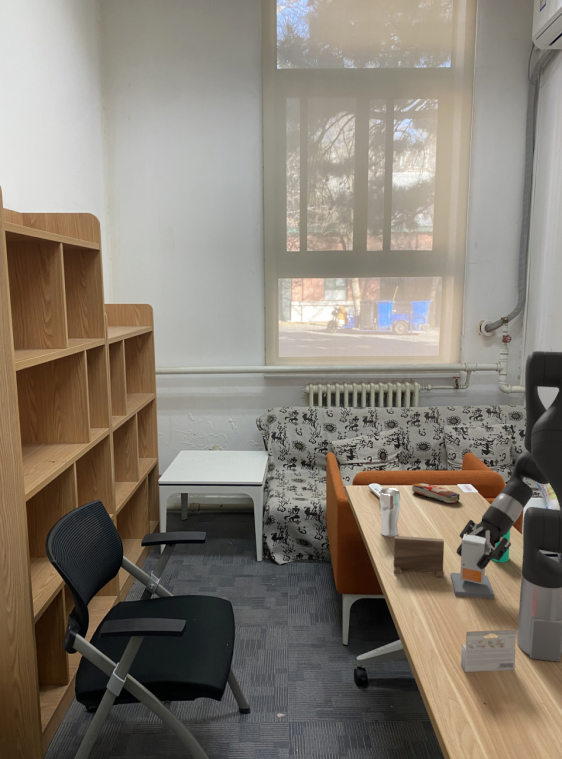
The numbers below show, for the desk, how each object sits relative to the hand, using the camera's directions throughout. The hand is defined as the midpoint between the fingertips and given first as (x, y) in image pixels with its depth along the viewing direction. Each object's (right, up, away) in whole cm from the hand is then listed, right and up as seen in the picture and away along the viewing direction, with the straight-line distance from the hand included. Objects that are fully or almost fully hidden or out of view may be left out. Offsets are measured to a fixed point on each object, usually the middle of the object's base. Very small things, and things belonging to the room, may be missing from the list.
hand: (468, 561), depth 144 cm
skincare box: (+2, -6, +2) cm, 6 cm away
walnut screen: (-11, -7, +11) cm, 17 cm away
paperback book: (+11, +2, +67) cm, 68 cm away
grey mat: (+1, -8, +2) cm, 8 cm away
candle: (+16, -5, +18) cm, 25 cm away
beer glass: (-15, -3, +36) cm, 39 cm away
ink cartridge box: (-7, -13, -30) cm, 33 cm away
